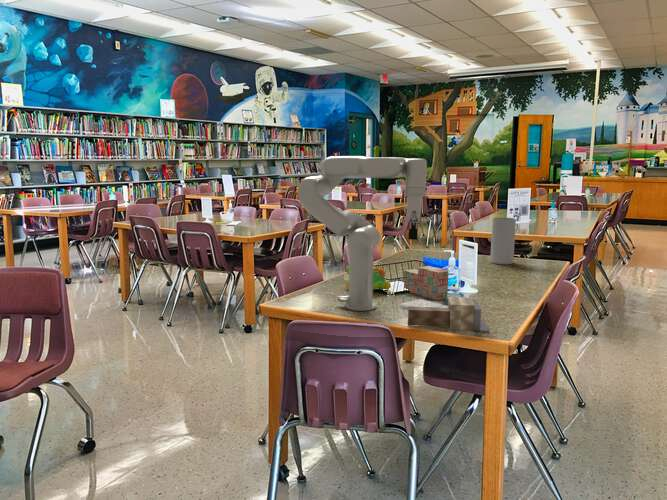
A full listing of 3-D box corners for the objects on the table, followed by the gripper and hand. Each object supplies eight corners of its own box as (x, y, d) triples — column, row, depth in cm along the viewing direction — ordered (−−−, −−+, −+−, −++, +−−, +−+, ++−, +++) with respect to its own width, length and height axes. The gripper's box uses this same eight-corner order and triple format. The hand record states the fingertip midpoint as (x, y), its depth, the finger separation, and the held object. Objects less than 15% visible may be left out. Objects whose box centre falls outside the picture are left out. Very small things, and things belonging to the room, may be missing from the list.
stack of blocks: (403, 290, 261) (404, 263, 259) (413, 288, 265) (414, 262, 263) (437, 300, 244) (438, 271, 242) (447, 298, 247) (449, 270, 245)
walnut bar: (408, 326, 208) (408, 309, 207) (407, 322, 213) (408, 306, 212) (459, 328, 206) (459, 311, 205) (457, 324, 211) (458, 308, 210)
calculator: (420, 302, 242) (421, 298, 242) (459, 312, 227) (460, 308, 227) (398, 307, 234) (398, 303, 233) (437, 319, 219) (437, 314, 218)
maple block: (450, 329, 204) (451, 304, 202) (447, 320, 214) (448, 296, 213) (473, 330, 203) (474, 305, 201) (469, 321, 214) (470, 297, 212)
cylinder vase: (514, 261, 333) (516, 218, 329) (512, 265, 321) (515, 220, 317) (491, 260, 337) (493, 217, 333) (489, 263, 326) (491, 219, 322)
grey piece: (474, 331, 201) (475, 309, 200) (469, 320, 215) (470, 299, 214) (488, 332, 201) (490, 309, 200) (483, 320, 215) (484, 299, 213)
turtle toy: (363, 282, 278) (363, 257, 276) (395, 291, 259) (396, 265, 257) (334, 286, 268) (334, 261, 266) (365, 296, 249) (366, 270, 247)
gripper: (405, 190, 225) (403, 233, 228) (404, 193, 209) (402, 240, 211) (425, 190, 224) (422, 234, 227) (425, 194, 208) (423, 241, 210)
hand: (413, 237), depth 219 cm, fingers open, 9 cm apart
